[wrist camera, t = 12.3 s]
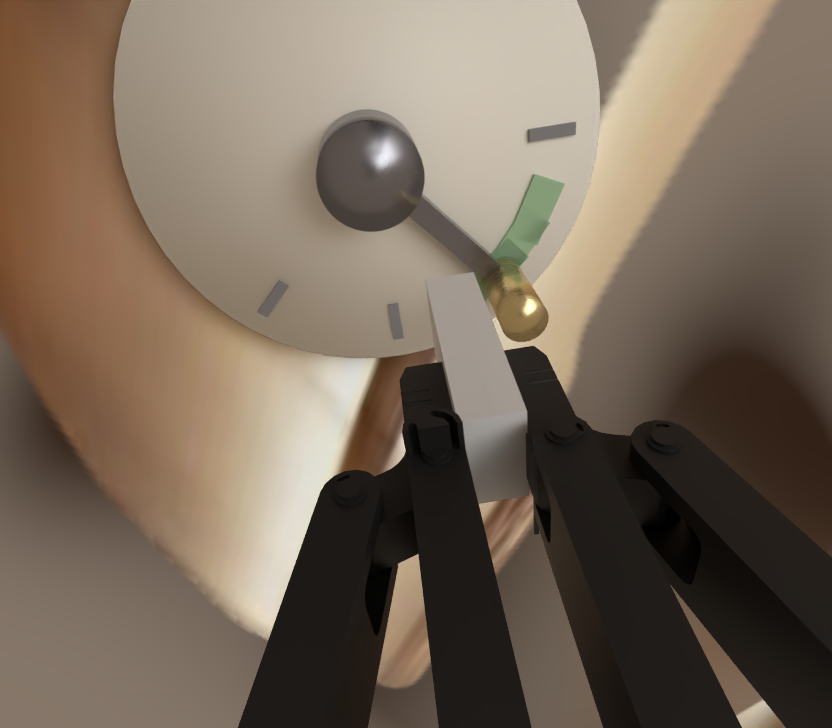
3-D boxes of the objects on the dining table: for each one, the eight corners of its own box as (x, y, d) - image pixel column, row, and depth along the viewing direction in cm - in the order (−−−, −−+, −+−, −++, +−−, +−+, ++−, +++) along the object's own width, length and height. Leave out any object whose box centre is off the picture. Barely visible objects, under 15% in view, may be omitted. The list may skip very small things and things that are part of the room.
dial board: (284, -329, 21) (281, -347, 19) (683, 104, 30) (696, 109, 29) (46, 206, 30) (34, 215, 29) (410, 404, 40) (412, 417, 39)
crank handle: (298, 168, 29) (290, 201, 24) (361, 85, 27) (364, 106, 23) (485, 317, 35) (505, 366, 30) (546, 258, 33) (577, 300, 29)
